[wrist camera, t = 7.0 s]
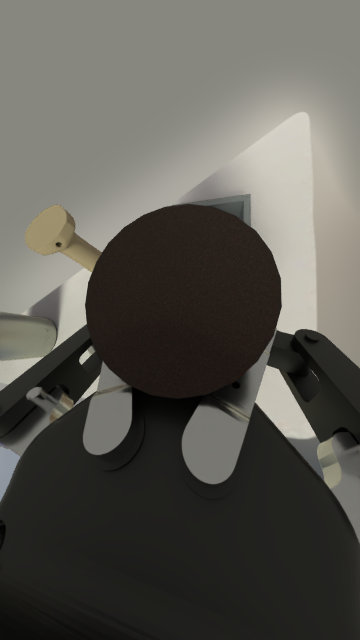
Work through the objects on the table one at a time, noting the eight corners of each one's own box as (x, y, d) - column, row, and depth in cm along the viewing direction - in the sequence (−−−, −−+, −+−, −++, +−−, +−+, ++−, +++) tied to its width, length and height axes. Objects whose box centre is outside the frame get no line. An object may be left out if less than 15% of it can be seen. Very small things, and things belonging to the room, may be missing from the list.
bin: (174, 285, 30) (166, 274, 25) (178, 226, 31) (171, 205, 26) (243, 284, 27) (250, 271, 22) (243, 219, 28) (250, 194, 24)
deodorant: (220, 358, 18) (267, 428, 3) (174, 348, 19) (65, 370, 5) (228, 310, 19) (294, 202, 4) (182, 304, 20) (108, 204, 5)
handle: (103, 279, 33) (20, 231, 19) (125, 261, 33) (57, 197, 18) (113, 295, 32) (32, 257, 18) (136, 276, 32) (72, 222, 17)
